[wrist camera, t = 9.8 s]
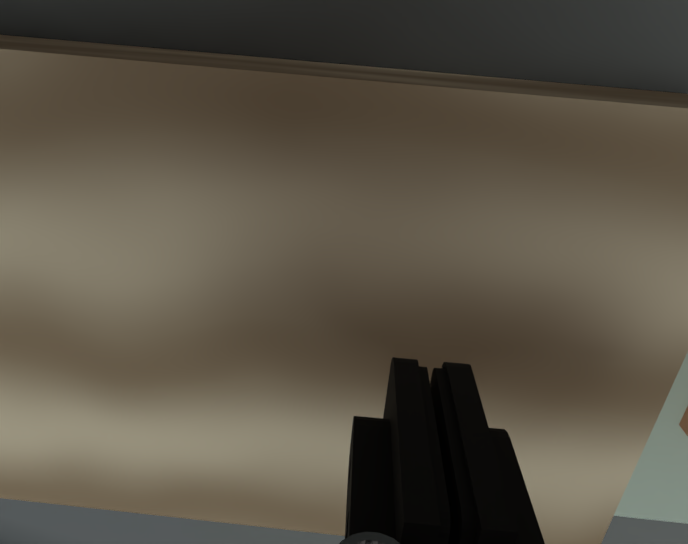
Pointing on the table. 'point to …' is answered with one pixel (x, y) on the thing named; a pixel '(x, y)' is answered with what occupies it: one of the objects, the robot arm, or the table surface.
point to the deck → (324, 275)
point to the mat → (662, 464)
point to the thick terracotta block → (684, 422)
